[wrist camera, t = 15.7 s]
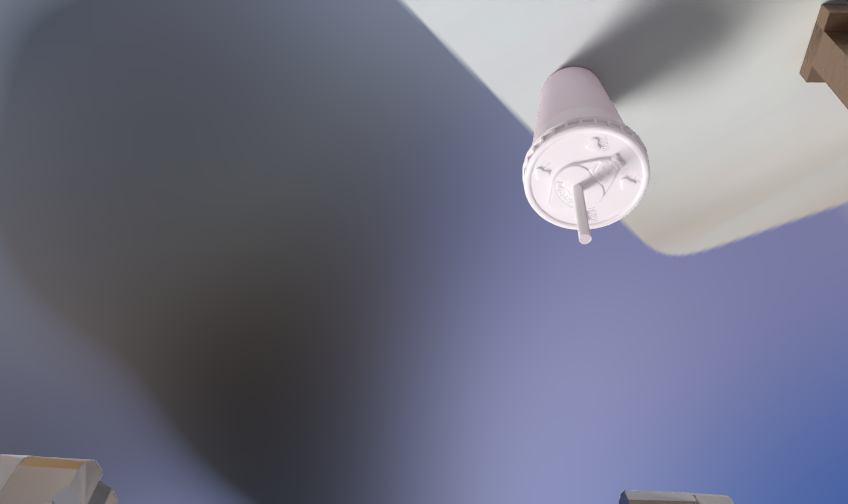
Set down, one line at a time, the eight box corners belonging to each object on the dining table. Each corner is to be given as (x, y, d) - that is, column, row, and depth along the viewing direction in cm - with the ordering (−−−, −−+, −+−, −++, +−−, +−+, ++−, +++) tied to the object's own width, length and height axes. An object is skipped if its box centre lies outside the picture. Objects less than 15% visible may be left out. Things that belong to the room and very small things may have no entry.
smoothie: (497, 90, 43) (496, 225, 32) (584, 22, 40) (615, 147, 29) (560, 158, 46) (578, 305, 35) (646, 99, 43) (695, 240, 32)
